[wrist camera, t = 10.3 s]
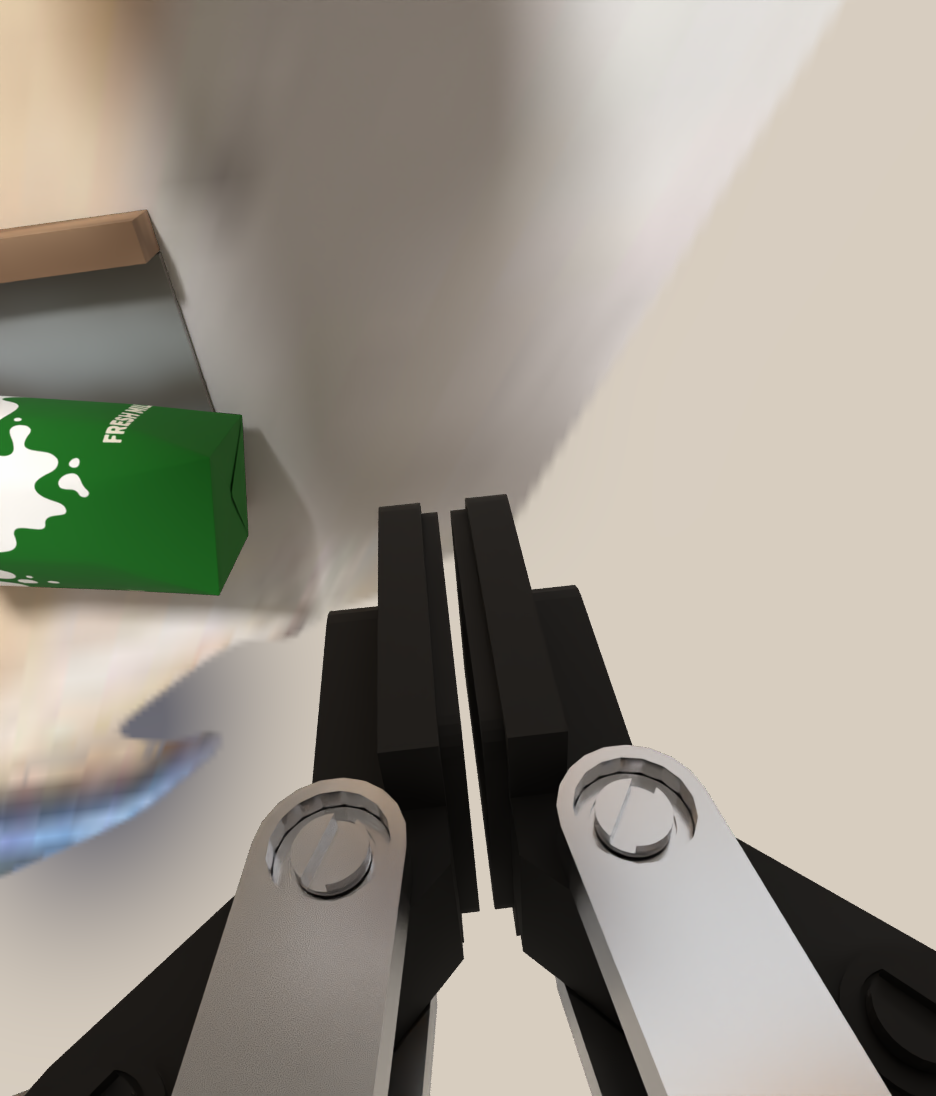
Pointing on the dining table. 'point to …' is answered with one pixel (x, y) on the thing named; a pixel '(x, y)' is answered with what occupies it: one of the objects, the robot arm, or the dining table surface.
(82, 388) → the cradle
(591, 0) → the dining table surface
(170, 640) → the dining table surface
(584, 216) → the dining table surface
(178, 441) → the soya milk
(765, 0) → the dining table surface
